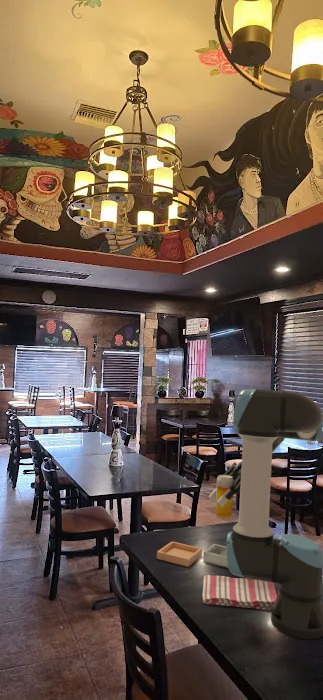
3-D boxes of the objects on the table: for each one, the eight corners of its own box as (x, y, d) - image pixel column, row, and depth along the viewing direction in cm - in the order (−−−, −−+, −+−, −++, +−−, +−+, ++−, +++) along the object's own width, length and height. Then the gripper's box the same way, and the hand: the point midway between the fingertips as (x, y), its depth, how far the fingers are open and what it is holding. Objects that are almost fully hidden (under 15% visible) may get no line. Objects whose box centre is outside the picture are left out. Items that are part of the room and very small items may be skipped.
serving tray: (188, 566, 169) (188, 559, 169) (156, 558, 175) (157, 551, 175) (201, 555, 180) (202, 548, 180) (171, 547, 186) (172, 541, 186)
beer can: (232, 520, 174) (234, 478, 175) (215, 519, 174) (217, 477, 175) (230, 515, 180) (232, 475, 181) (214, 514, 180) (216, 474, 181)
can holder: (229, 568, 170) (229, 558, 170) (203, 561, 174) (203, 552, 175) (238, 559, 179) (238, 549, 179) (213, 552, 183) (213, 543, 183)
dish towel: (281, 613, 141) (282, 601, 141) (202, 605, 143) (202, 594, 143) (273, 587, 158) (273, 576, 158) (202, 580, 160) (202, 570, 160)
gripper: (275, 468, 175) (234, 516, 168) (247, 458, 192) (209, 501, 186) (264, 454, 173) (221, 502, 166) (236, 445, 191) (197, 488, 184)
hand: (215, 501), depth 176 cm, fingers closed on beer can, 6 cm apart
